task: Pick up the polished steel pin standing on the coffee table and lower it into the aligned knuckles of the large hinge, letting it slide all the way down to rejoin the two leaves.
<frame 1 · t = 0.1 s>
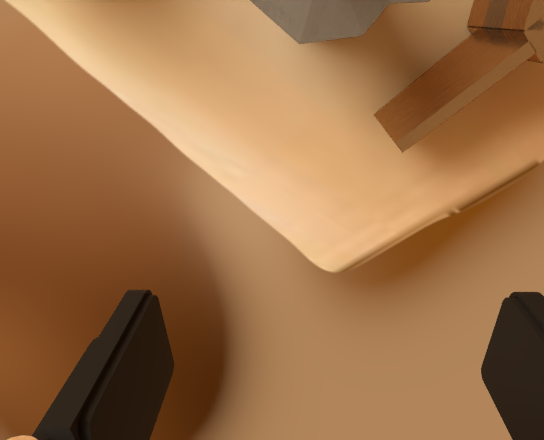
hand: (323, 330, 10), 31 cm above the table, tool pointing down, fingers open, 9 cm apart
hinge: (509, 10, 33), on the table
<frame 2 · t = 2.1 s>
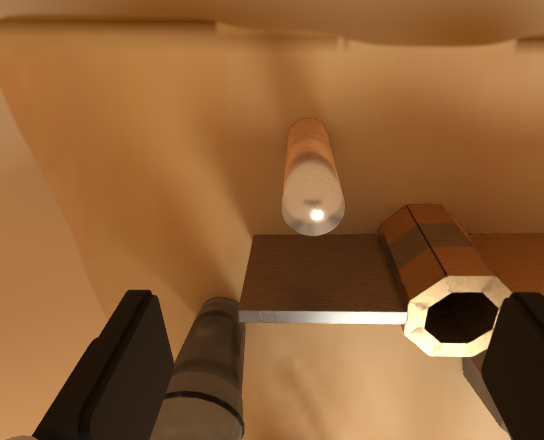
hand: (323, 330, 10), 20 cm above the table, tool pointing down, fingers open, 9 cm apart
beverage cup: (223, 313, 37), on the table
coffeepot: (510, 361, 38), on the table
steel pin: (307, 138, 28), on the table
hinge: (417, 239, 32), on the table
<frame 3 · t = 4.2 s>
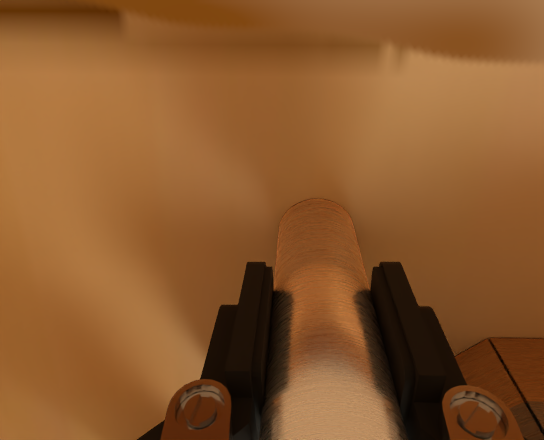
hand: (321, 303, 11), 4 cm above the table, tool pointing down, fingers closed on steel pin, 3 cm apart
steel pin: (315, 232, 15), on the table, touching gripper
hinge: (501, 386, 19), on the table
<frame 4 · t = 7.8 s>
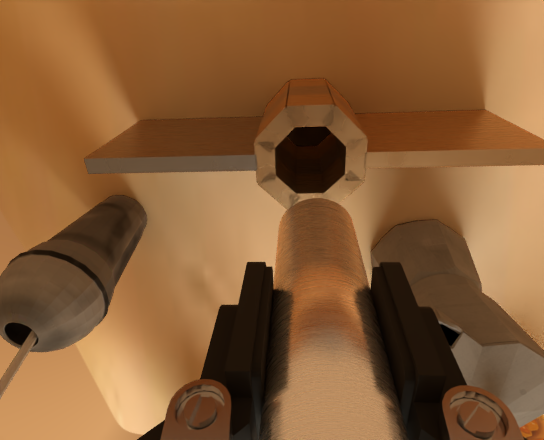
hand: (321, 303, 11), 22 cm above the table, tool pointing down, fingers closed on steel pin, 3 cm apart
beverage cup: (124, 215, 37), on the table
coffeepot: (420, 265, 37), on the table
steel pin: (316, 231, 15), point 18 cm above the table, touching gripper
hinge: (307, 121, 31), on the table
candy box: (492, 407, 47), on the table
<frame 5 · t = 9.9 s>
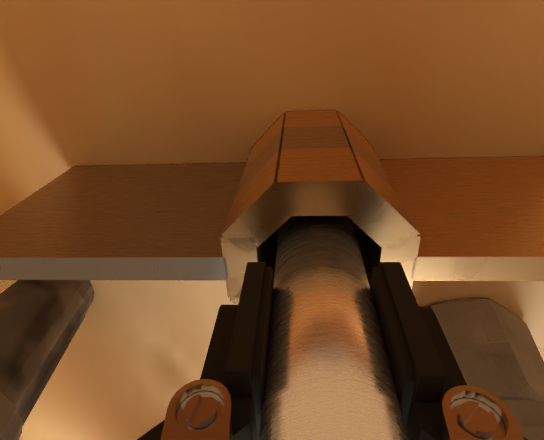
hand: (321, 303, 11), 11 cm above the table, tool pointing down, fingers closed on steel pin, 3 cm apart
beverage cup: (64, 285, 27), on the table
coffeepot: (461, 351, 28), on the table
steel pin: (316, 231, 15), point 7 cm above the table, touching gripper
hinge: (310, 169, 21), on the table
when the fingers open (10 cm above the table, at t = 11.3 s): steel pin drops 6 cm, resting in hinge.
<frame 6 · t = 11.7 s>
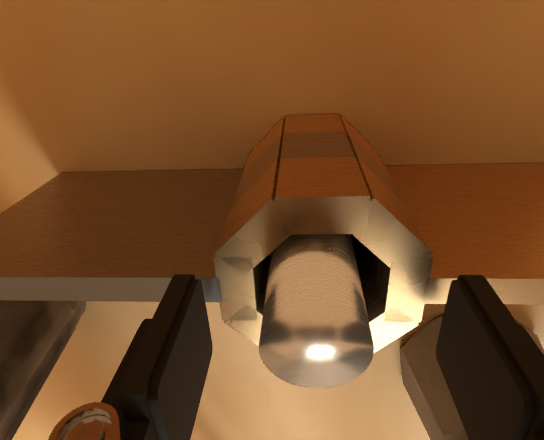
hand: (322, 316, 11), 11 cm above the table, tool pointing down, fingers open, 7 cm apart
beverage cup: (54, 295, 26), on the table
coffeepot: (468, 363, 27), on the table
steel pin: (309, 176, 20), resting in hinge
hinge: (311, 176, 20), on the table
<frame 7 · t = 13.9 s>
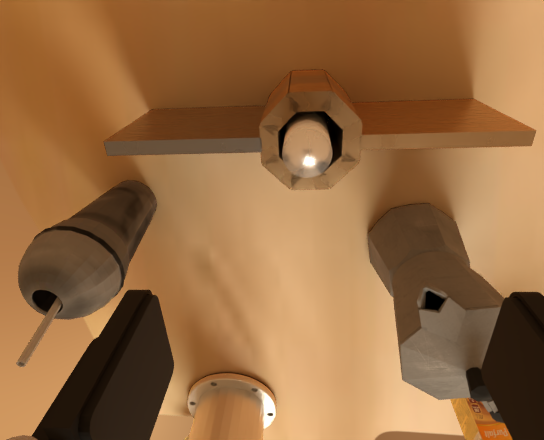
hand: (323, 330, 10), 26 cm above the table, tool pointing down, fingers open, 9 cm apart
beverage cup: (135, 199, 39), on the table
coffeepot: (414, 247, 39), on the table
steel pin: (306, 110, 33), resting in hinge
hinge: (307, 110, 33), on the table
candy box: (484, 385, 49), on the table
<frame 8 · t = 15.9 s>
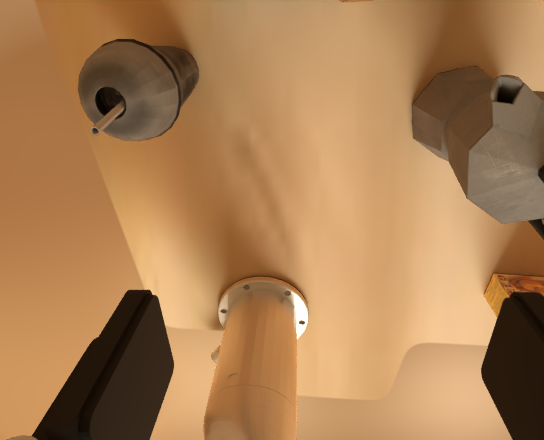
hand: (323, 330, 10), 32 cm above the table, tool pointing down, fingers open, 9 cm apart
beverage cup: (177, 71, 38), on the table
coffeepot: (458, 121, 39), on the table
candy box: (520, 286, 48), on the table
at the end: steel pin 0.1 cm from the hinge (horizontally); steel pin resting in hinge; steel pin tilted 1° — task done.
